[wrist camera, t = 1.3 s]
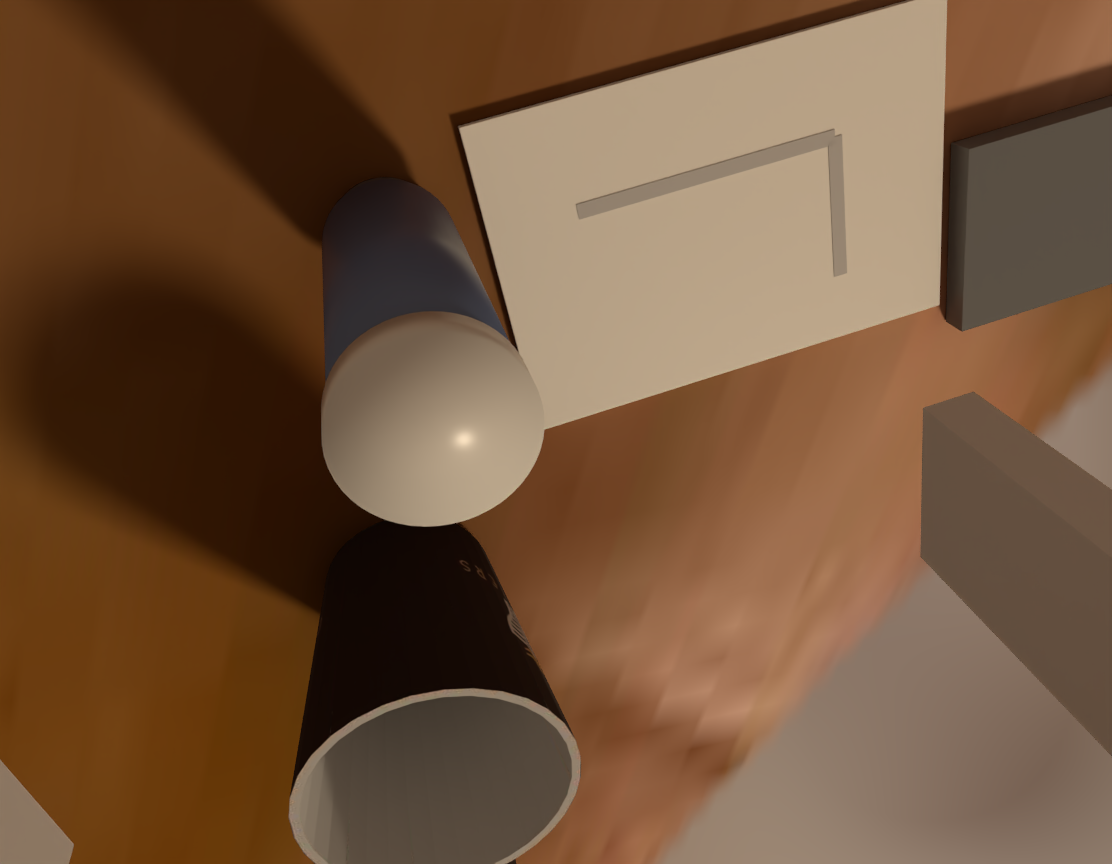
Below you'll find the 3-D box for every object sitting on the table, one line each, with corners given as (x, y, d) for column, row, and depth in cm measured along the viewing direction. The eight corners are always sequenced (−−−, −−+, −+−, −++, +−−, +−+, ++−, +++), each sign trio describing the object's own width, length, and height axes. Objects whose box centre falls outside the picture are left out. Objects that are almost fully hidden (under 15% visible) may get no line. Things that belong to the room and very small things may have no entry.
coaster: (946, 321, 34) (961, 331, 33) (951, 143, 31) (969, 149, 30) (1105, 270, 35) (1125, 279, 34) (1130, 89, 31) (1153, 94, 30)
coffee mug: (294, 492, 31) (287, 701, 23) (529, 488, 34) (601, 677, 25) (295, 726, 37) (290, 965, 28) (498, 709, 39) (549, 925, 31)
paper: (538, 427, 32) (540, 431, 32) (458, 126, 26) (459, 128, 26) (935, 302, 34) (939, 305, 33) (941, -10, 28) (948, -9, 28)
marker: (344, 311, 28) (364, 552, 18) (297, 185, 26) (286, 372, 15) (469, 274, 29) (564, 488, 18) (432, 147, 27) (516, 303, 16)
